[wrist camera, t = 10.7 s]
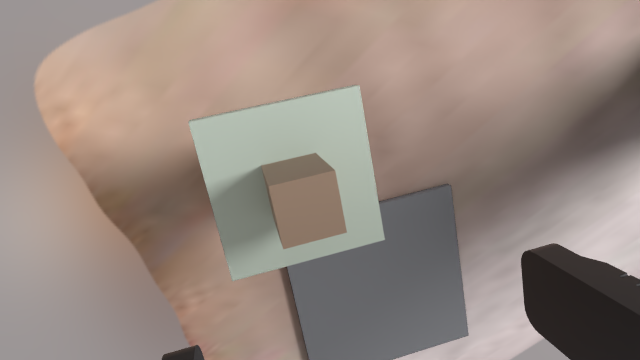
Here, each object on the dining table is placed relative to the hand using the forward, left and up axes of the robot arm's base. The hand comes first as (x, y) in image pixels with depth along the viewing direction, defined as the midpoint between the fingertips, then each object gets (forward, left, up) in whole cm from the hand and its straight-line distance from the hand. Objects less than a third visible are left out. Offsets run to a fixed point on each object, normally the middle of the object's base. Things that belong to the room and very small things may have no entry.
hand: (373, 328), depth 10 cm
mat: (-7, +15, -27) cm, 32 cm away
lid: (0, 0, -15) cm, 15 cm away
